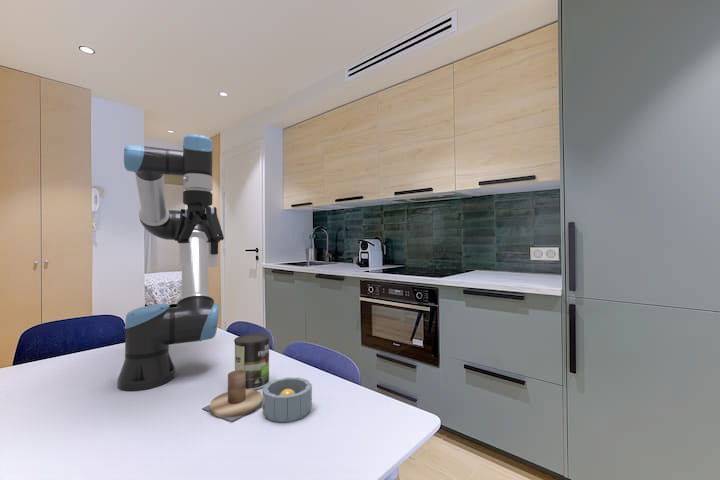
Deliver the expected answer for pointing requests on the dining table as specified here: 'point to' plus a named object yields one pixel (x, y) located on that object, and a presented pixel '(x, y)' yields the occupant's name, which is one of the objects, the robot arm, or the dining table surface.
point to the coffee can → (253, 359)
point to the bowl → (287, 399)
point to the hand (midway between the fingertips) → (197, 266)
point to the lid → (236, 397)
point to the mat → (230, 419)
